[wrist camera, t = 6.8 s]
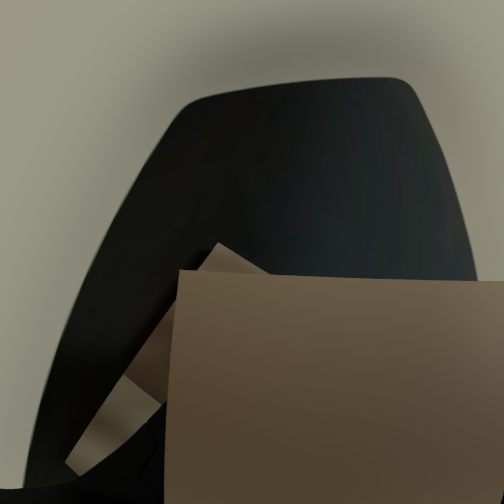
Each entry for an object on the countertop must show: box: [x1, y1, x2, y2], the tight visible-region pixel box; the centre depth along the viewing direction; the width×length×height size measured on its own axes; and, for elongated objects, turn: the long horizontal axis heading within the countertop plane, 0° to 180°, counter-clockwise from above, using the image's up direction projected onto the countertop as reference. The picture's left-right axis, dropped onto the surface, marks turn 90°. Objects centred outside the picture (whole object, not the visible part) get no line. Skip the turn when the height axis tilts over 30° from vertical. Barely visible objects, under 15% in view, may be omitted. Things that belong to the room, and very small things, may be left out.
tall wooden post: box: [164, 270, 504, 504], centre depth 9 cm, size 5×5×13 cm
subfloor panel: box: [65, 243, 269, 476], centre depth 20 cm, size 22×13×2 cm, turn 146°
